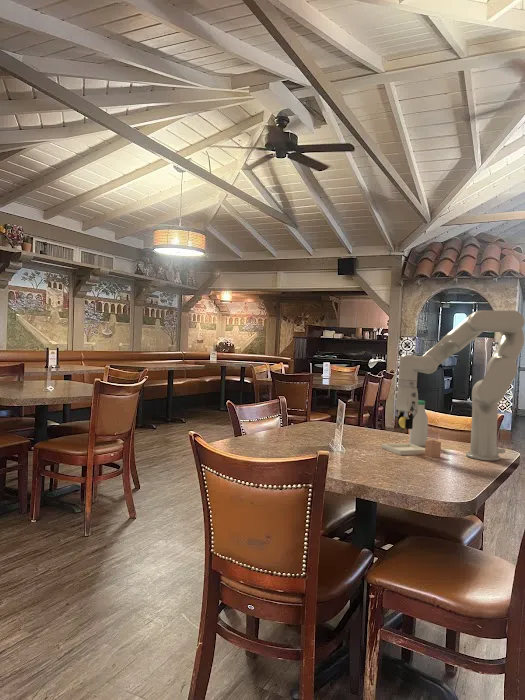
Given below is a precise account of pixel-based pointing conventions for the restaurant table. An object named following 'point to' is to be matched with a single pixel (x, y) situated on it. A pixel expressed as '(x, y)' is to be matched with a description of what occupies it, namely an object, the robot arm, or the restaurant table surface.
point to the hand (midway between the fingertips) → (404, 427)
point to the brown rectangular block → (432, 448)
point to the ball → (402, 421)
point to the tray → (404, 449)
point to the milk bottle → (419, 426)
